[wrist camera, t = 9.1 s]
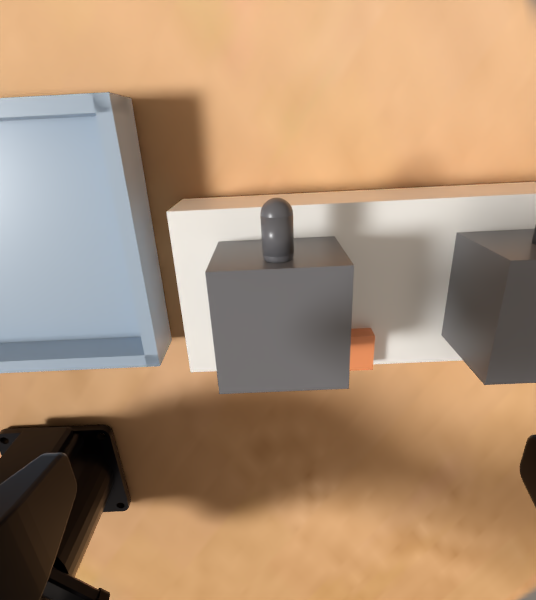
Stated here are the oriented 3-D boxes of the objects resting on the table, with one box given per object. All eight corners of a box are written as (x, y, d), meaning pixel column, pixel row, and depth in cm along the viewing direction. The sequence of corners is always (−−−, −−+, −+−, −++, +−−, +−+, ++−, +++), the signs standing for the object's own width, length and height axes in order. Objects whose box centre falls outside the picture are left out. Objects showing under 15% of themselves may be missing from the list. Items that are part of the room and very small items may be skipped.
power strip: (516, 324, 19) (627, 409, 14) (201, 338, 20) (173, 427, 14) (563, 123, 16) (744, 118, 10) (175, 143, 16) (121, 150, 10)
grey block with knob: (323, 313, 19) (348, 388, 13) (232, 316, 19) (219, 394, 13) (325, 176, 16) (356, 199, 11) (220, 182, 16) (197, 206, 11)
